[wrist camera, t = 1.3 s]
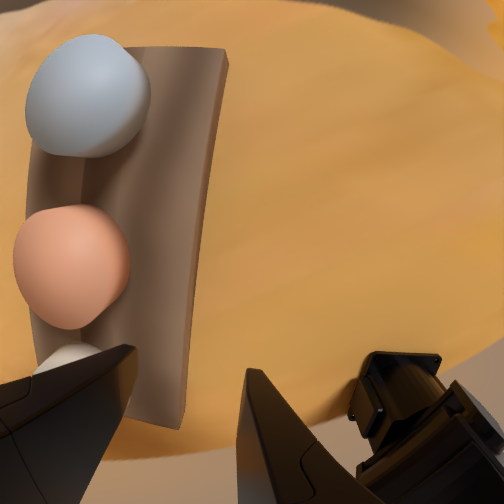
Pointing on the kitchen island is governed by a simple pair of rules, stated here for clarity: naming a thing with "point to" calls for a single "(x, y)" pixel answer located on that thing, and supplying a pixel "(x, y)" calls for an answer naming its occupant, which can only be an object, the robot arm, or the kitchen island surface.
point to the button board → (147, 223)
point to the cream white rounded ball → (68, 356)
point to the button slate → (87, 98)
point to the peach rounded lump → (70, 264)
